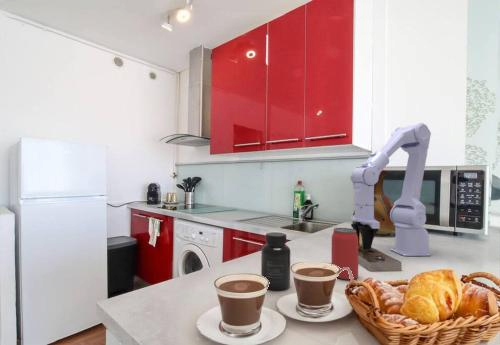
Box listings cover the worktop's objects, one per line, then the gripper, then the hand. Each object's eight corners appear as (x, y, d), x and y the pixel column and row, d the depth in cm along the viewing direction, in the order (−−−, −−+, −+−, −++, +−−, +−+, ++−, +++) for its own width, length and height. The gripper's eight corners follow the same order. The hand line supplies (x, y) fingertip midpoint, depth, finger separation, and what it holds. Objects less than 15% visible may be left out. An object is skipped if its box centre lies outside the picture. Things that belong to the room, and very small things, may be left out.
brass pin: (366, 252, 87) (367, 227, 87) (371, 254, 84) (371, 229, 84) (357, 252, 87) (357, 227, 87) (361, 254, 84) (361, 229, 84)
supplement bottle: (266, 278, 68) (267, 230, 68) (293, 282, 65) (293, 232, 65) (256, 288, 61) (257, 235, 61) (286, 293, 59) (286, 238, 59)
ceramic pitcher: (404, 233, 126) (404, 169, 126) (391, 240, 111) (391, 168, 112) (362, 227, 139) (362, 170, 140) (345, 233, 125) (345, 168, 125)
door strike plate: (335, 248, 97) (335, 239, 97) (359, 248, 98) (359, 239, 98) (370, 271, 73) (370, 260, 73) (401, 270, 74) (401, 259, 74)
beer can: (355, 282, 65) (355, 233, 65) (328, 277, 68) (328, 230, 69) (360, 274, 70) (360, 229, 71) (335, 269, 74) (335, 226, 74)
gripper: (342, 202, 93) (342, 241, 92) (363, 207, 78) (363, 253, 78) (362, 202, 93) (362, 241, 93) (386, 207, 79) (386, 253, 78)
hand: (364, 247), depth 85 cm, fingers closed on brass pin, 3 cm apart
